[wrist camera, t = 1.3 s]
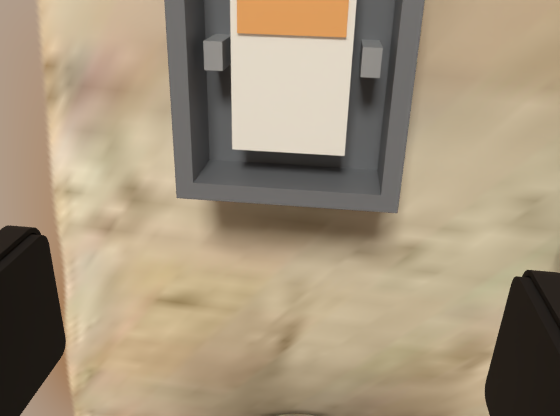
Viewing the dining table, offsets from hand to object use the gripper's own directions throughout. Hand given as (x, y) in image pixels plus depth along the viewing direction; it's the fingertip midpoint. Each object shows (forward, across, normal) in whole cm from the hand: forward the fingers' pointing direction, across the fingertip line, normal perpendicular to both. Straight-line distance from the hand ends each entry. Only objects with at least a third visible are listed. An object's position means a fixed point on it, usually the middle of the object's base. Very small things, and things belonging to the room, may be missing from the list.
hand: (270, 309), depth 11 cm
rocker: (+14, +1, -2) cm, 14 cm away
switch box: (+19, +1, -2) cm, 19 cm away
